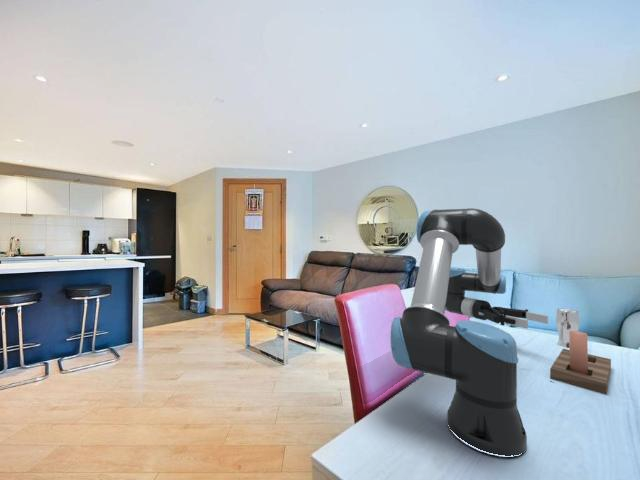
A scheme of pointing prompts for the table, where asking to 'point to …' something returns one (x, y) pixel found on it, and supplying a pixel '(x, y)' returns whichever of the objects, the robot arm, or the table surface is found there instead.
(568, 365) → the hole board
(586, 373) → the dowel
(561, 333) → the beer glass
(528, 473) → the table surface
